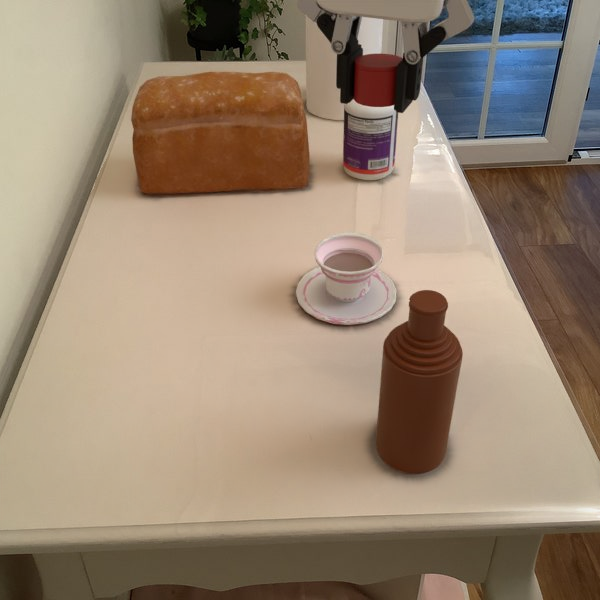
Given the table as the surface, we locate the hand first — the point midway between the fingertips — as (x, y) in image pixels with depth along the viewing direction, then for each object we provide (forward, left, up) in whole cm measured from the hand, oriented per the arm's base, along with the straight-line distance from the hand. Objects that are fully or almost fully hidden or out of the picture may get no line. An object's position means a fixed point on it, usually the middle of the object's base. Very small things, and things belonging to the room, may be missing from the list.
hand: (376, 100), depth 56 cm
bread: (+34, -29, -28) cm, 53 cm away
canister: (+28, -62, -28) cm, 74 cm away
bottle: (-9, +11, -28) cm, 31 cm away
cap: (0, 0, 0) cm, 0 cm away
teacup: (+5, -8, -28) cm, 29 cm away
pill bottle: (+14, -39, -28) cm, 50 cm away
